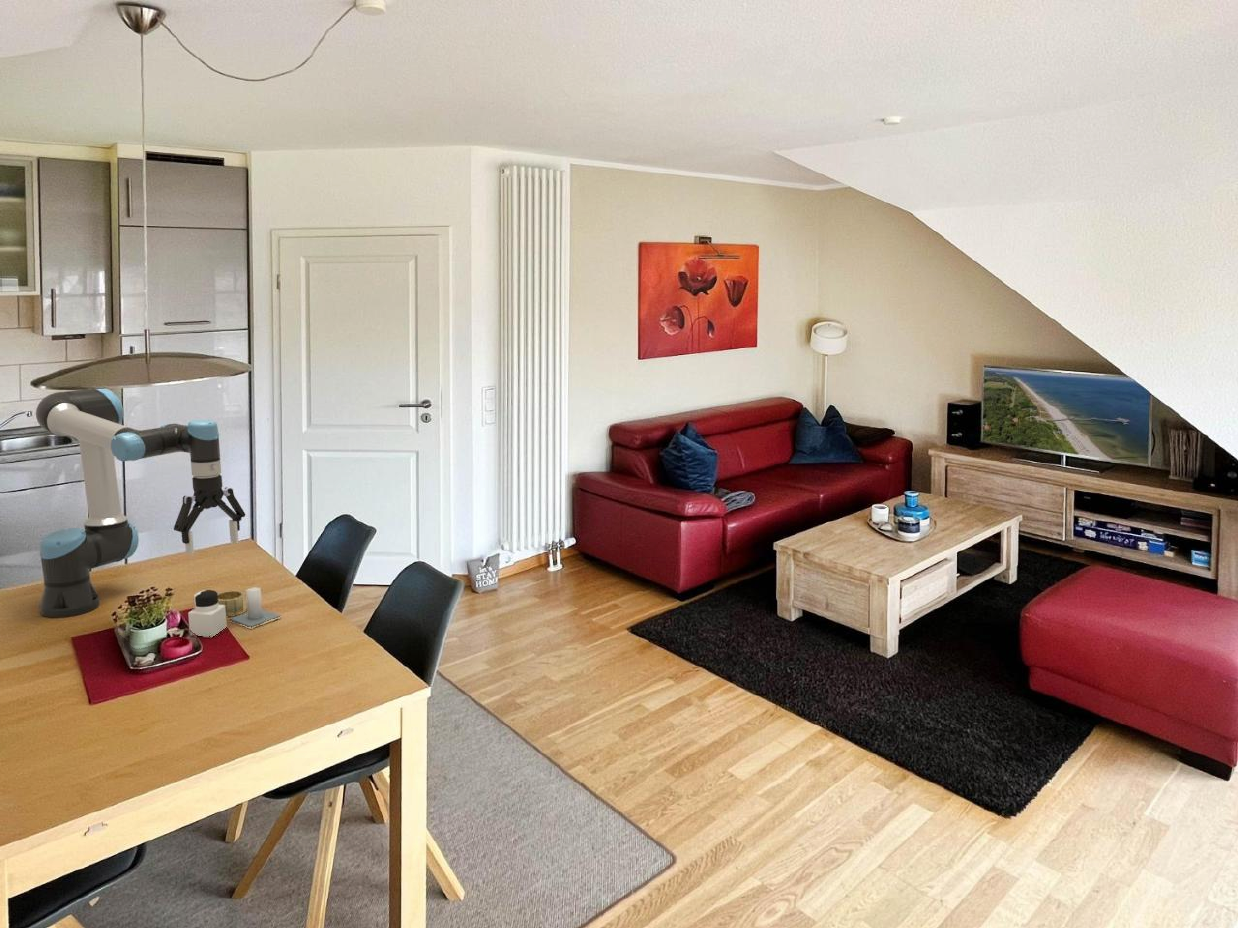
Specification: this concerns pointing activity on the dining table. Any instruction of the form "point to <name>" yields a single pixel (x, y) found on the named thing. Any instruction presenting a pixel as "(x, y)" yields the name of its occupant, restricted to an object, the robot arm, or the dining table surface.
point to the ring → (232, 601)
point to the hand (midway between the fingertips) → (212, 548)
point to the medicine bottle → (207, 614)
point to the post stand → (254, 610)
